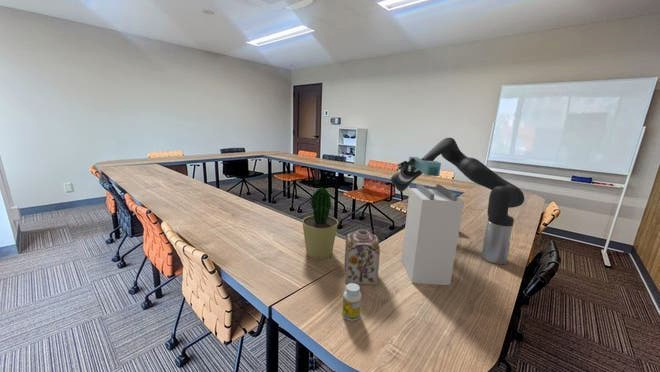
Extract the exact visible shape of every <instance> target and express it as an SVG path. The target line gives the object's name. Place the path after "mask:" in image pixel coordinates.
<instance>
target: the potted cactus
mask: <svg viewBox="0 0 660 372" xmlns="http://www.w3.org/2000/svg"><path fill="white" fill-rule="evenodd" d="M312 193H313V194H311V195H312V196H309V198H310V204H311V205H310V207H311V208H310V209H311V211H312V212H313V213H311V214H312V215H309V216H306V217H304V218H302V221H301V222H302V229H303V237H304V238H303V239H304V244H305V253H306V255H307V256H308V257H309V258H311V259H316V260H325V259H328V258H330V257H331V256H332V253H333V250H334V246H335V245H334V244H335V240H336V236H337V231H338V226H339V225H338V224H339V220H338V219H336V218H335V217H334V216H333V217H332V216H329V215H330V210H333V207H332V198H331V197H332V193H330V192H328V189H327V188H324V187H319V188H318V189H316V190H315V191H314V192H313V191H312Z"/></svg>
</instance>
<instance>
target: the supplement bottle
mask: <svg viewBox="0 0 660 372" xmlns="http://www.w3.org/2000/svg"><path fill="white" fill-rule="evenodd" d="M360 290H361V288H360V285H359V284H355V283H349V284H346V286H345V291H344V292H343V295H342V314H341V315H342V317H343V318H344V319H345V320H346V321H349V320H350V322H354V320H355V321H357V319H358V320H359V319H360V317H361V310H362V309H361V308H362V307H361V306H362V293H361V291H360Z"/></svg>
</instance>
